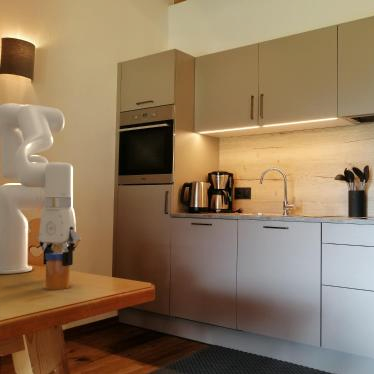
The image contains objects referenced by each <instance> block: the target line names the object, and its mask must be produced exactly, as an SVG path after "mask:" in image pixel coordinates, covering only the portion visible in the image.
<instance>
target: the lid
mask: <svg viewBox="0 0 374 374" xmlns="http://www.w3.org/2000/svg"><path fill="white" fill-rule="evenodd" d="M45 260H63V252H49V253H45Z"/></svg>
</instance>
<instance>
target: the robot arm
mask: <svg viewBox="0 0 374 374" xmlns="http://www.w3.org/2000/svg"><path fill="white" fill-rule="evenodd" d="M65 121H66V120H65V116H64V113H63V112H62V111H61V110H60V109H59V108H56V107H52V106H51V107H50V106H44V105H38V104H20V103H2V104H1V105H0V142H1V143H0V144H1V145H0V147H1V149H0V172H1V175H2V177H3V178H4V179H6V180H11V181H18V182H19V183H4V184H2V185H0V275H10V274H13V275H14V274H22V273H27V272H30V271H32V270H33V266H32V265H28V261H29V260H28V259H29V256H28V255H29V221H28V218H27V217H26V216H25V214H24V213H23V212H22V211H25V210H26V211H33V210H34V211H35V210H37V211H38V210H42V212H41V216H40V222H39V234H38V235H37V237H36V240H37V241H38V242H39V246H40V247H41V251H42V252H43V255H42V256H43V259H42V261H43V263H42V264H43V265H44V266H46V260H45V253H49V252H54V250H52V248H53V245H54V243H62V245H63V248H64V252H63V266H69V265H70V266H73V264H74V263H73V262H74V252H75V250H76V248H77V247H78V245H79V243H80V242H81V240H82V239H81V237H80V236H79V234H78V233H77V228H76V227H77V225H76V224H77V223H76V215H75V209H74V208H73V206H74V203H73V202H74V166H73V165H72V163H69V162H64V161H63V162H62V161H51V162H49V160H48V159H47V158H46V157H45V156H43V155H39V154H40V153H43V152H45V151H48V150H49V149H50V148H51V147H52V146H53V144H54V137H53V134H52V133H55V134H56V133H57V134H58V133H60V132H62V131H63V130H64V127H65V123H66V122H65ZM37 154H38V155H37Z"/></svg>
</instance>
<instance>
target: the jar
mask: <svg viewBox="0 0 374 374" xmlns="http://www.w3.org/2000/svg"><path fill="white" fill-rule="evenodd" d="M70 269H71V265H69V266H63V260H46V265H45V289H46V290H50V291H51V290H52V291H53V290H54V291H55V290H57V291H58V290H64V289H65V290H66V289H68V288H70V278H71V277H70V275H71V272H70V271H71V270H70Z"/></svg>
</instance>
